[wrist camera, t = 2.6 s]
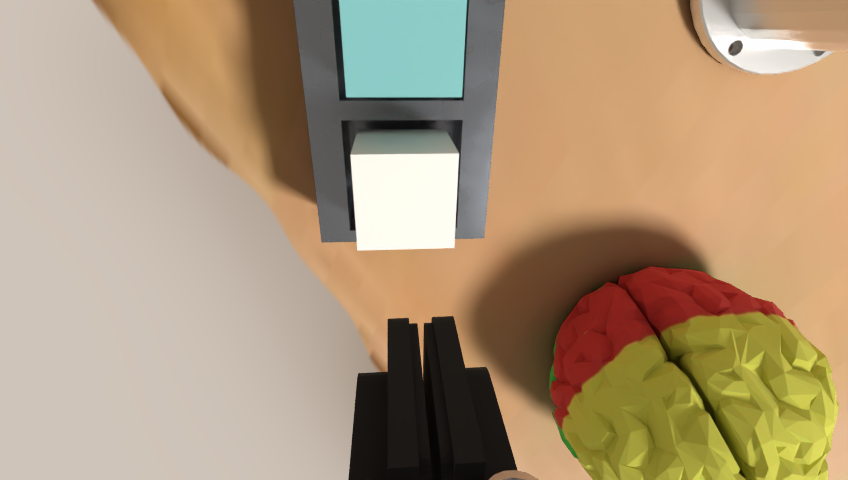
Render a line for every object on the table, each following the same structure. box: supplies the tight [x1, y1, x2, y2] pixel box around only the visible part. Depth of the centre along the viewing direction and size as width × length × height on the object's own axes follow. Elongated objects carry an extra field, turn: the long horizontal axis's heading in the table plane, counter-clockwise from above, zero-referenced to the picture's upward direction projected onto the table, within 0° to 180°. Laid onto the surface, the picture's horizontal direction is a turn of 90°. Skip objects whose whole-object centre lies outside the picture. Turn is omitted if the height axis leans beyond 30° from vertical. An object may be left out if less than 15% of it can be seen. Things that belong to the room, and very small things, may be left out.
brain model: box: [549, 266, 839, 480], centre depth 32 cm, size 24×19×15 cm
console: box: [293, 0, 505, 242], centre depth 22 cm, size 10×23×5 cm, turn 179°
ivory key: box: [350, 129, 459, 251], centre depth 22 cm, size 5×5×5 cm
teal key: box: [339, 0, 467, 97], centre depth 19 cm, size 5×5×5 cm
